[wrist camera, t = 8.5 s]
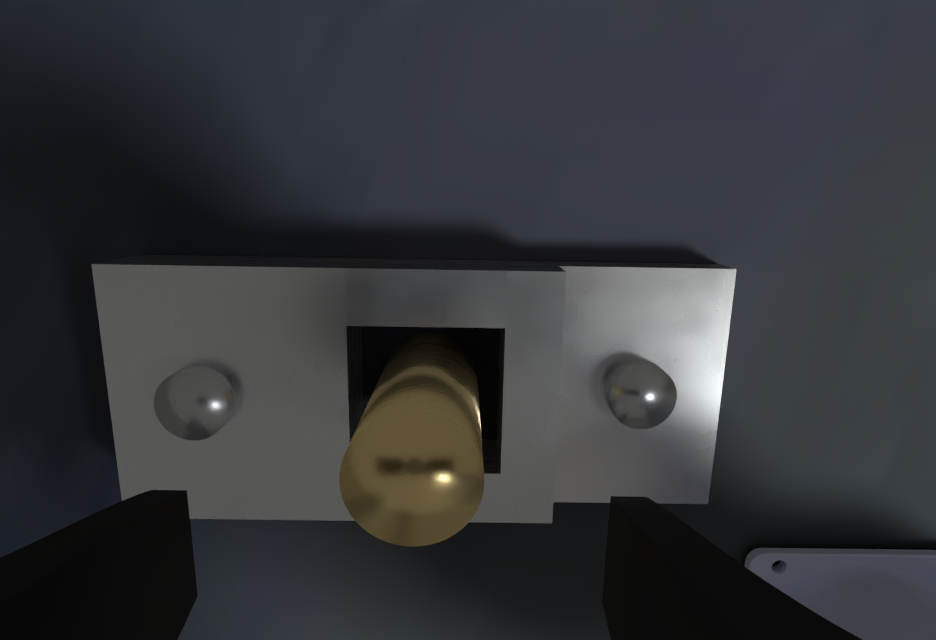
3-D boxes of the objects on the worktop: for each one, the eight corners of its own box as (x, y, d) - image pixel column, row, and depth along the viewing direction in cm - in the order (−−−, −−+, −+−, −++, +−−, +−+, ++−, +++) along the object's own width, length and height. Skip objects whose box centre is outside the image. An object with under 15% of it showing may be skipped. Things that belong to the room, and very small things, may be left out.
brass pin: (478, 331, 18) (486, 415, 11) (476, 418, 19) (482, 547, 12) (385, 329, 18) (336, 412, 11) (386, 417, 19) (341, 545, 12)
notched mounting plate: (718, 263, 18) (768, 277, 15) (693, 485, 19) (733, 537, 17) (140, 254, 18) (76, 267, 15) (165, 478, 19) (111, 529, 16)
